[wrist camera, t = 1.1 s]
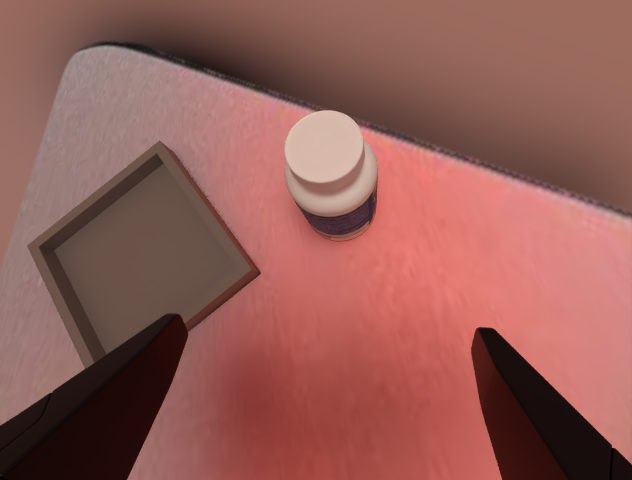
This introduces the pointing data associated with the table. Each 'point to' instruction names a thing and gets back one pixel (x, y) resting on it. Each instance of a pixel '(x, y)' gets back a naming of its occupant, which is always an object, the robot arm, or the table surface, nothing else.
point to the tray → (139, 256)
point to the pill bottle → (332, 174)
